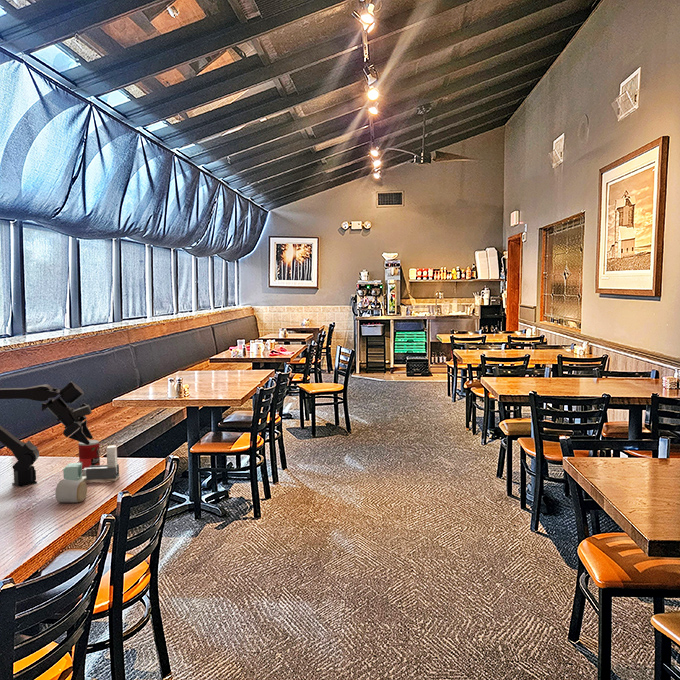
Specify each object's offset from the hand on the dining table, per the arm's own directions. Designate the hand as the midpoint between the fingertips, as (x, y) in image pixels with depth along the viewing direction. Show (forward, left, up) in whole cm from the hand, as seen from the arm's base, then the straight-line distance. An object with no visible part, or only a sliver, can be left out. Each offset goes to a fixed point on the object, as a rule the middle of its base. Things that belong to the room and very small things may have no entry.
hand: (90, 441), depth 225 cm
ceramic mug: (-18, -18, -15) cm, 30 cm away
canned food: (+8, +14, -15) cm, 22 cm away
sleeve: (+1, -6, -14) cm, 15 cm away
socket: (-7, +2, -14) cm, 15 cm away
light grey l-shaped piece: (0, -5, -12) cm, 14 cm away
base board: (-2, -3, -15) cm, 15 cm away
